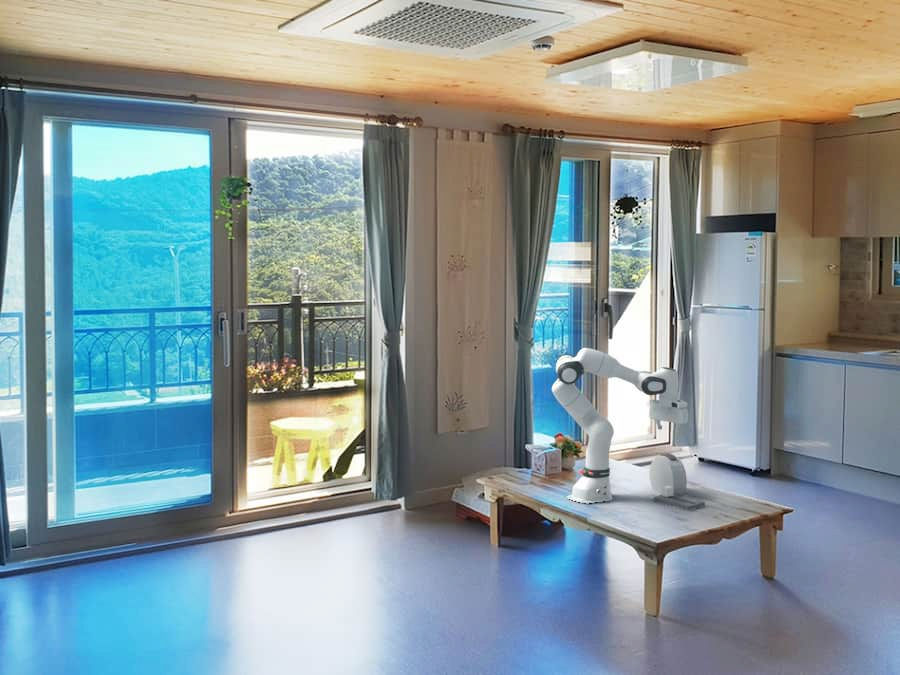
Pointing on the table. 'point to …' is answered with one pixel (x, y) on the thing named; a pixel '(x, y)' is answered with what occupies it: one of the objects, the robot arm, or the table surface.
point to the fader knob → (667, 491)
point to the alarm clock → (668, 473)
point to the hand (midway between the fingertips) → (667, 430)
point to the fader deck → (679, 501)
